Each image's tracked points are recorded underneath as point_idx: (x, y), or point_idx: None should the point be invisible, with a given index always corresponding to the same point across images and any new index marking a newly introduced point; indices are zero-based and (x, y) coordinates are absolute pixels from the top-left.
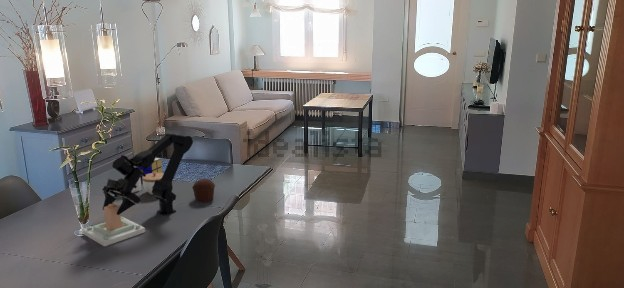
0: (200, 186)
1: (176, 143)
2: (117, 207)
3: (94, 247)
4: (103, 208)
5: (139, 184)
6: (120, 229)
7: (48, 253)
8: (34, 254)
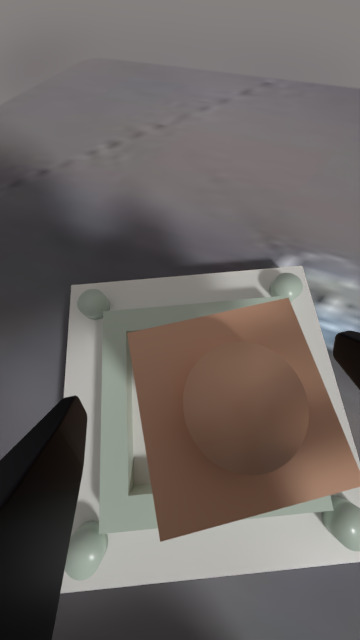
0: None
1: None
2: (153, 476)
3: (109, 264)
4: (349, 336)
5: None
6: (102, 403)
7: (187, 147)
8: (211, 121)
